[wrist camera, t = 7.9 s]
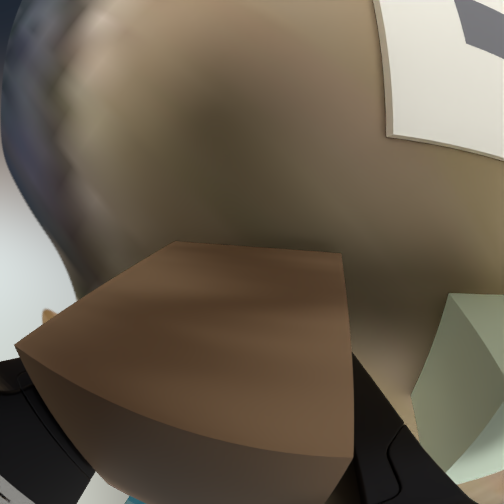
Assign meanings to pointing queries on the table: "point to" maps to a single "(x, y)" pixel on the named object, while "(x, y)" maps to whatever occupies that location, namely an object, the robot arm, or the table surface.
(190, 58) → the table surface
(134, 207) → the table surface
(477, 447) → the sage cube
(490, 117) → the board
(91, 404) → the walnut block
